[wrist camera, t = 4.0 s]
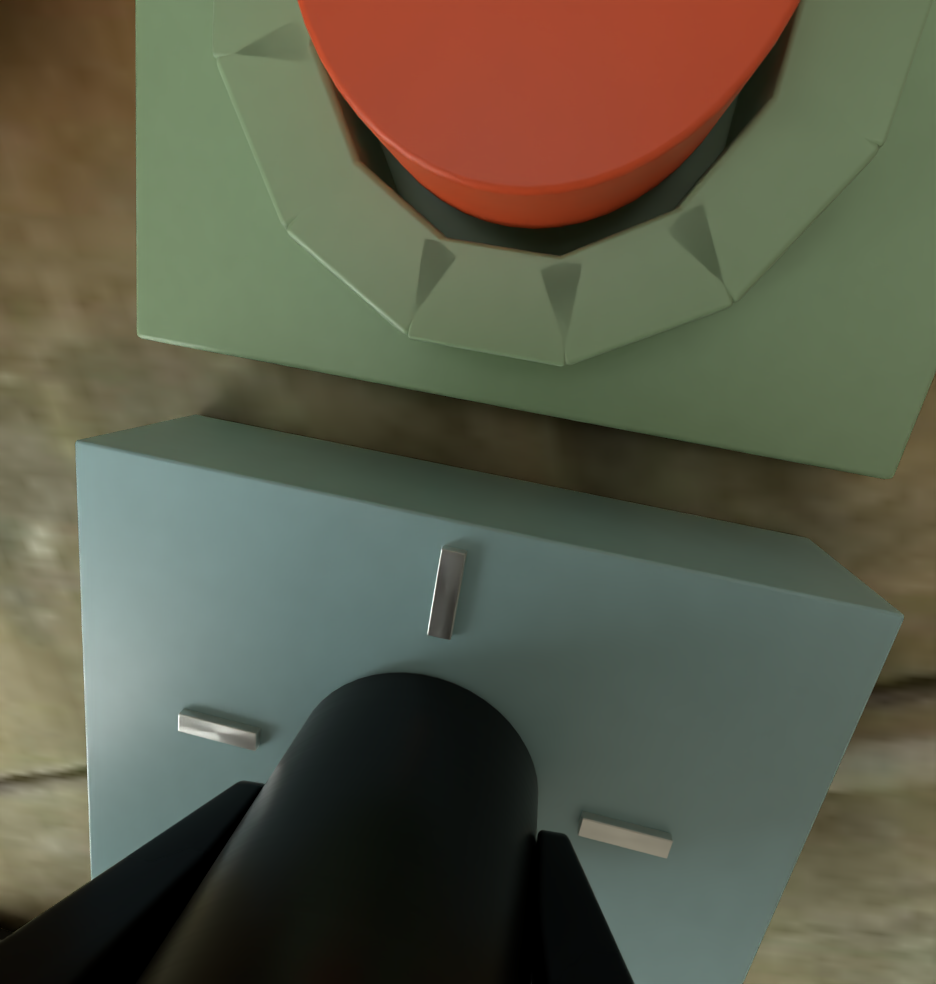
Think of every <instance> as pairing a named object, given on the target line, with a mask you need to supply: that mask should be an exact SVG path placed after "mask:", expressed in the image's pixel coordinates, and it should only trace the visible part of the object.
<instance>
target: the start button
mask: <svg viewBox="0 0 936 984" xmlns="http://www.w3.org/2000/svg"><path fill="white" fill-rule="evenodd" d="M297 1H298V4H299V7H300V11H301V14H302V17H303V20H304V24H305V26H306V28H307V31H308V33H309V35H310V38H311V40H312V42H313V45H314V47H315V49H316V51H317V54H318V56H319V58H320V60H321V62H322V64H323V65H324V67H325V69H326V70H327V72H328V74H329V76H330V77H331V79H332V81H333V82H334V84H335V86H336V88H337V89H338V91H339V92H340V93H341V95H342V96H343V97H344V99H345V100H346V101H347V102H348V104H349V105H350V106H351V108H352V109H353V110H354V112H355V113H356V114H357V116H358V117H359V118H360V119H361V120H362V121H363V122H364V124H365V125H366V126H367V127H368V128H369V129H370V130H371V131H372V132H373V134H374V135H375V136H376V137H377V138H378V139H379V140H380V141H381V142H382V144H383V145H384V146H385V147H386V148H387V149H388V150H389V151H390V152H391V154H392V155H393V156H394V157H395V158H396V159H397V160H398V161H399V162H400V164H401V165H402V166H403V167H404V168H405V169H406V170H407V171H408V172H409V173H410V174H411V175H412V176H413V177H414V178H415V179H416V180H417V181H418V182H419V183H420V184H421V185H422V186H423V187H424V188H426V189H427V190H428V191H430V192H431V193H432V194H434V195H435V196H436V197H437V198H439V199H440V200H441V201H443V202H445V203H447V204H448V205H450V206H452V207H454V208H455V209H457V210H459V211H461V212H463V213H465V214H468V215H470V216H473V217H475V218H478V219H480V220H483V221H486V222H490V223H494V224H499V225H503V226H507V227H517V228H528V229H540V228H557V227H563V226H568V225H573V224H578V223H583V222H586V221H589V220H592V219H595V218H598V217H601V216H604V215H607V214H609V213H611V212H613V211H615V210H617V209H619V208H621V207H623V206H625V205H627V204H629V203H631V202H633V201H635V200H636V199H638V198H639V197H641V196H642V195H644V194H645V193H647V192H648V191H650V190H651V189H653V188H655V187H656V186H657V185H659V184H660V183H661V182H662V181H663V180H664V179H666V178H667V177H668V176H669V175H670V174H672V173H673V172H674V171H675V170H676V169H677V168H679V167H680V166H681V165H682V164H683V162H684V161H685V160H686V159H687V158H688V157H689V156H690V155H691V154H692V153H693V152H694V151H695V150H696V149H697V147H698V146H699V145H700V144H701V143H702V142H703V140H704V139H705V138H706V136H707V135H708V134H709V132H710V131H711V130H712V128H713V127H714V126H715V124H716V123H717V122H718V120H719V119H720V118H721V116H722V115H723V114H724V112H725V111H726V110H727V108H728V107H729V106H730V104H731V103H732V102H733V100H734V99H735V98H736V96H737V95H738V94H739V92H740V91H741V90H742V88H743V87H744V86H745V84H746V83H747V82H748V80H749V79H750V78H751V76H752V75H753V74H754V72H755V71H756V70H757V68H758V67H759V66H760V64H761V63H762V62H763V60H764V59H765V58H766V56H767V55H768V54H769V52H770V51H771V50H772V48H773V47H774V46H775V44H776V42H777V41H778V39H779V37H780V36H781V34H782V32H783V30H784V29H785V27H786V25H787V24H788V22H789V20H790V19H791V17H792V15H793V14H794V12H795V10H796V9H797V7H798V5H799V3H800V1H801V0H297Z"/></svg>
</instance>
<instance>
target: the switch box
mask: <svg viewBox="0 0 936 984" xmlns="http://www.w3.org/2000/svg"><path fill="white" fill-rule="evenodd" d="M136 239H137V334H138V336H139V337H141V338H142V339H146V340H152V341H157V342H162V343H167V344H173V345H178V346H183V347H189V348H194V349H199V350H204V351H210V352H215V353H220V354H226V355H231V356H236V357H241V358H247V359H252V360H257V361H263V362H268V363H273V364H278V365H284V366H289V367H294V368H300V369H305V370H310V371H315V372H321V373H326V374H331V375H337V376H342V377H347V378H352V379H358V380H363V381H368V382H373V383H379V384H384V385H389V386H395V387H400V388H405V389H410V390H416V391H421V392H426V393H432V394H437V395H442V396H447V397H453V398H458V399H463V400H469V401H474V402H479V403H484V404H490V405H495V406H500V407H506V408H511V409H516V410H521V411H527V412H532V413H537V414H543V415H548V416H553V417H558V418H564V419H569V420H574V421H580V422H585V423H590V424H595V425H601V426H606V427H611V428H616V429H622V430H627V431H632V432H638V433H643V434H648V435H653V436H659V437H664V438H669V439H675V440H680V441H685V442H690V443H696V444H701V445H706V446H712V447H717V448H722V449H727V450H733V451H738V452H743V453H749V454H754V455H759V456H764V457H770V458H775V459H780V460H786V461H791V462H796V463H801V464H807V465H812V466H817V467H823V468H828V469H833V470H838V471H844V472H849V473H854V474H859V475H865V476H870V477H875V478H881V479H890V478H892V477H893V476H894V474H895V472H896V469H897V467H898V464H899V462H900V459H901V457H902V454H903V452H904V449H905V447H906V444H907V442H908V439H909V437H910V435H911V432H912V430H913V427H914V425H915V422H916V420H917V417H918V415H919V412H920V410H921V407H922V405H923V402H924V400H925V397H926V395H927V392H928V390H929V387H930V385H931V382H932V380H933V377H934V375H935V372H936V0H801V1H800V3H799V5H798V7H797V9H796V10H795V12H794V14H793V15H792V17H791V19H790V20H789V22H788V24H787V25H786V27H785V29H784V30H783V32H782V34H781V36H780V37H779V39H778V41H777V42H776V44H775V46H774V47H773V48H772V50H771V51H770V52H769V54H768V55H767V56H766V58H765V59H764V60H763V62H762V63H761V64H760V66H759V67H758V68H757V70H756V71H755V72H754V74H753V75H752V76H751V78H750V79H749V80H748V82H747V83H746V84H745V86H744V87H743V88H742V90H741V91H740V92H739V94H738V95H737V96H736V98H735V99H734V100H733V102H732V103H731V104H730V106H729V107H728V108H727V110H726V111H725V112H724V114H723V115H722V116H721V118H720V119H719V120H718V122H717V123H716V124H715V126H714V127H713V128H712V130H711V131H710V132H709V134H708V135H707V136H706V138H705V139H704V140H703V142H702V143H701V144H700V145H699V146H698V147H697V149H696V150H695V151H694V152H693V153H692V154H691V155H690V156H689V157H688V158H687V159H686V160H685V161H684V162H683V164H682V165H681V166H680V167H679V168H677V169H676V170H675V171H674V172H673V173H672V174H670V175H669V176H668V177H667V178H666V179H664V180H663V181H662V182H661V183H660V184H659V185H657V186H656V187H655V188H653V189H651V190H650V191H648V192H647V193H645V194H644V195H642V196H641V197H639V198H638V199H636V200H635V201H633V202H631V203H629V204H627V205H625V206H623V207H621V208H619V209H617V210H615V211H613V212H611V213H609V214H607V215H604V216H601V217H598V218H595V219H592V220H589V221H586V222H583V223H578V224H573V225H568V226H563V227H557V228H540V229H528V228H517V227H507V226H503V225H499V224H494V223H490V222H486V221H483V220H480V219H478V218H475V217H473V216H470V215H468V214H465V213H463V212H461V211H459V210H457V209H455V208H454V207H452V206H450V205H448V204H447V203H445V202H443V201H441V200H440V199H439V198H437V197H436V196H435V195H434V194H432V193H431V192H430V191H428V190H427V189H426V188H424V187H423V186H422V185H421V184H420V183H419V182H418V181H417V180H416V179H415V178H414V177H413V176H412V175H411V174H410V173H409V172H408V171H407V170H406V169H405V168H404V167H403V166H402V165H401V164H400V162H399V161H398V160H397V159H396V158H395V157H394V156H393V155H392V154H391V152H390V151H389V150H388V149H387V148H386V147H385V146H384V145H383V144H382V142H381V141H380V140H379V139H378V138H377V137H376V136H375V135H374V134H373V132H372V131H371V130H370V129H369V128H368V127H367V126H366V125H365V124H364V122H363V121H362V120H361V119H360V118H359V117H358V116H357V114H356V113H355V112H354V110H353V109H352V108H351V106H350V105H349V104H348V102H347V101H346V100H345V99H344V97H343V96H342V95H341V93H340V92H339V91H338V89H337V88H336V86H335V84H334V82H333V81H332V79H331V77H330V76H329V74H328V72H327V70H326V69H325V67H324V65H323V64H322V62H321V60H320V58H319V56H318V54H317V51H316V49H315V47H314V45H313V42H312V40H311V38H310V35H309V33H308V31H307V28H306V26H305V24H304V20H303V17H302V14H301V11H300V7H299V4H298V1H297V0H136Z"/></svg>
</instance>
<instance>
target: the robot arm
mask: <svg viewBox="0 0 936 984" xmlns="http://www.w3.org/2000/svg"><path fill="white" fill-rule="evenodd" d="M264 785H265V784H263V783H258V782H251V781H245V780H243V781H239V782H237V783H235V784H234V785H232V786H231V787H229V788H228V789H226V790H225V791H223V792H222V793H220V794H219V795H217V796H216V797H214V798H213V799H211V800H210V801H208V802H207V803H205V804H204V805H202V806H201V807H199V808H198V809H196V810H195V811H193V812H192V813H191V814H189V815H188V816H186V817H185V818H183V819H182V820H180V821H179V822H177V823H176V824H174V825H173V826H171V827H170V828H168V829H167V830H165V831H164V832H162V833H161V834H159V835H158V836H156V837H155V838H153V839H152V840H150V841H149V842H147V843H146V844H144V845H143V846H141V847H140V848H138V849H137V850H135V851H134V852H133V853H131V854H130V855H128V856H127V857H125V858H124V859H122V860H121V861H119V862H118V863H116V864H115V865H113V866H112V867H110V868H109V869H107V870H106V871H104V872H103V873H101V874H100V875H98V876H97V877H95V878H94V879H92V880H91V881H89V882H88V883H86V884H85V885H83V886H82V887H80V888H79V889H77V890H76V891H74V892H73V893H72V894H70V895H69V896H67V897H66V898H64V899H63V900H61V901H60V902H58V903H57V904H55V905H54V906H52V907H51V908H49V909H48V910H46V911H45V912H43V913H42V914H40V915H39V916H37V917H36V918H34V919H33V920H31V921H30V922H28V923H27V924H25V925H24V926H22V927H21V928H19V929H18V930H16V931H15V932H11V931H8V930H4V929H1V928H0V984H136V982H137V981H138V979H139V978H140V976H141V975H142V973H143V971H144V970H145V968H146V967H147V965H148V964H149V962H150V961H151V959H152V958H153V956H154V955H155V953H156V951H157V950H158V948H159V947H160V945H161V944H162V942H163V941H164V939H165V938H166V936H167V935H168V933H169V931H170V930H171V928H172V927H173V925H174V924H175V922H176V921H177V919H178V918H179V916H180V915H181V913H182V911H183V910H184V908H185V907H186V905H187V904H188V902H189V901H190V899H191V898H192V896H193V894H194V893H195V891H196V890H197V888H198V887H199V885H200V884H201V882H202V881H203V879H204V878H205V876H206V874H207V873H208V871H209V870H210V868H211V867H212V865H213V864H214V862H215V861H216V859H217V858H218V856H219V854H220V853H221V851H222V850H223V848H224V847H225V845H226V844H227V842H228V841H229V839H230V837H231V836H232V834H233V833H234V831H235V830H236V828H237V827H238V825H239V824H240V822H241V821H242V819H243V817H244V816H245V814H246V813H247V811H248V810H249V808H250V807H251V805H252V804H253V802H254V801H255V799H256V797H257V796H258V794H259V793H260V791H261V790H262V788H263V787H264ZM531 984H635V983H634V981H633V979H632V977H631V975H630V972H629V970H628V968H627V966H626V963H625V961H624V959H623V957H622V955H621V952H620V950H619V948H618V946H617V943H616V941H615V939H614V937H613V935H612V932H611V930H610V928H609V926H608V923H607V921H606V919H605V917H604V915H603V912H602V910H601V908H600V906H599V903H598V901H597V899H596V897H595V895H594V892H593V890H592V888H591V886H590V883H589V881H588V879H587V877H586V875H585V872H584V870H583V868H582V866H581V863H580V861H579V859H578V857H577V855H576V852H575V850H574V848H573V846H572V843H571V841H570V839H569V838H568V836H567V835H566V834H564V833H559V832H553V831H547V830H541V831H539V832H538V835H537V842H536V863H535V889H534V914H533V946H532V972H531Z"/></svg>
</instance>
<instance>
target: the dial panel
mask: <svg viewBox="0 0 936 984" xmlns="http://www.w3.org/2000/svg"><path fill="white" fill-rule="evenodd" d="M75 447H76V475H77V502H78V530H79V557H80V585H81V612H82V640H83V667H84V695H85V722H86V750H87V777H88V805H89V832H90V860H91V880H92V879H94V878H95V877H97V876H98V875H100V874H101V873H103V872H104V871H106V870H107V869H109V868H110V867H112V866H113V865H115V864H116V863H118V862H119V861H121V860H122V859H124V858H125V857H127V856H128V855H130V854H131V853H133V852H134V851H135V850H137V849H138V848H140V847H141V846H143V845H144V844H146V843H147V842H149V841H150V840H152V839H153V838H155V837H156V836H158V835H159V834H161V833H162V832H164V831H165V830H167V829H168V828H170V827H171V826H173V825H174V824H176V823H177V822H179V821H180V820H182V819H183V818H185V817H186V816H188V815H189V814H191V813H192V812H193V811H195V810H196V809H198V808H199V807H201V806H202V805H204V804H205V803H207V802H208V801H210V800H211V799H213V798H214V797H216V796H217V795H219V794H220V793H222V792H223V791H225V790H226V789H228V788H229V787H231V786H232V785H234V784H235V783H237V782H239V781H243V780H245V781H251V782H258V783H263V784H266V782H267V780H268V779H269V777H270V776H271V774H272V773H273V771H274V770H275V768H276V767H277V765H278V764H279V762H280V760H281V759H282V757H283V756H284V754H285V753H286V751H287V750H288V748H289V747H290V745H291V744H292V742H293V740H294V739H295V737H296V736H297V734H298V733H299V731H300V730H301V728H302V727H303V725H304V724H305V722H306V720H307V719H308V717H309V716H310V714H311V713H312V711H313V710H314V709H315V708H316V707H317V706H318V704H319V703H320V702H321V701H322V700H323V699H325V698H326V697H327V696H328V695H329V694H331V693H332V692H333V691H335V690H337V689H338V688H340V687H342V686H343V685H345V684H348V683H350V682H352V681H355V680H357V679H360V678H363V677H367V676H371V675H375V674H382V673H394V672H407V673H416V674H424V675H428V676H433V677H437V678H441V679H443V680H446V681H449V682H452V683H455V684H457V685H459V686H461V687H463V688H465V689H468V690H470V691H471V692H473V693H475V694H476V695H478V696H479V697H481V698H483V699H484V700H486V701H487V702H488V703H489V704H491V705H492V706H493V707H494V708H496V709H497V710H498V711H499V712H500V713H501V714H502V715H503V716H504V717H505V718H506V719H507V720H508V721H509V722H510V723H511V725H512V726H513V727H514V729H515V730H516V731H517V733H518V734H519V735H520V737H521V739H522V740H523V742H524V744H525V746H526V747H527V749H528V751H529V754H530V756H531V759H532V761H533V763H534V767H535V771H536V775H537V782H538V816H537V835H538V832H539V831H541V830H547V831H553V832H559V833H564V834H566V835H567V836H568V838H569V839H570V841H571V843H572V846H573V848H574V850H575V852H576V855H577V857H578V859H579V861H580V863H581V866H582V868H583V870H584V872H585V875H586V877H587V879H588V881H589V883H590V886H591V888H592V890H593V892H594V895H595V897H596V899H597V901H598V903H599V906H600V908H601V910H602V912H603V915H604V917H605V919H606V921H607V923H608V926H609V928H610V930H611V932H612V935H613V937H614V939H615V941H616V943H617V946H618V948H619V950H620V952H621V955H622V957H623V959H624V961H625V963H626V966H627V968H628V970H629V972H630V975H631V977H632V979H633V981H634V983H635V984H743V982H744V980H745V978H746V975H747V973H748V971H749V969H750V966H751V964H752V962H753V960H754V957H755V955H756V953H757V950H758V948H759V946H760V944H761V941H762V939H763V937H764V935H765V932H766V930H767V928H768V926H769V923H770V921H771V919H772V916H773V914H774V912H775V910H776V907H777V905H778V903H779V901H780V898H781V896H782V894H783V892H784V889H785V887H786V885H787V883H788V880H789V878H790V876H791V873H792V871H793V869H794V867H795V864H796V862H797V860H798V858H799V855H800V853H801V851H802V849H803V846H804V844H805V842H806V839H807V837H808V835H809V833H810V830H811V828H812V826H813V824H814V821H815V819H816V817H817V815H818V812H819V810H820V808H821V806H822V803H823V801H824V799H825V796H826V794H827V792H828V790H829V787H830V785H831V783H832V781H833V778H834V776H835V774H836V772H837V769H838V767H839V765H840V762H841V760H842V758H843V756H844V753H845V751H846V749H847V747H848V744H849V742H850V740H851V738H852V735H853V733H854V731H855V729H856V726H857V724H858V722H859V719H860V717H861V715H862V713H863V710H864V708H865V706H866V704H867V701H868V699H869V697H870V695H871V692H872V690H873V688H874V685H875V683H876V681H877V679H878V676H879V674H880V672H881V670H882V667H883V665H884V663H885V661H886V658H887V656H888V654H889V652H890V649H891V647H892V645H893V642H894V640H895V638H896V636H897V633H898V631H899V629H900V627H901V624H902V622H903V620H904V615H903V614H902V613H901V612H900V611H898V610H897V609H896V608H895V607H893V606H892V605H891V604H890V603H888V602H887V601H886V600H885V599H883V598H882V597H881V596H880V595H878V594H877V593H876V592H875V591H873V590H872V589H871V588H870V587H868V586H867V585H866V584H865V583H863V582H862V581H861V580H860V579H858V578H857V577H856V576H855V575H853V574H852V573H851V572H850V571H848V570H847V569H846V568H845V567H843V566H842V565H841V564H840V563H838V562H837V561H836V560H835V559H833V558H832V557H831V556H830V555H828V554H827V553H826V552H825V551H823V550H822V549H821V548H820V547H818V546H817V545H816V544H815V543H813V542H812V541H811V540H810V539H808V538H806V537H801V536H796V535H791V534H786V533H781V532H776V531H771V530H766V529H761V528H756V527H751V526H746V525H741V524H736V523H731V522H726V521H721V520H716V519H711V518H706V517H702V516H697V515H692V514H687V513H682V512H677V511H672V510H667V509H662V508H657V507H652V506H647V505H642V504H637V503H632V502H627V501H622V500H617V499H612V498H607V497H602V496H597V495H592V494H587V493H582V492H577V491H573V490H568V489H563V488H558V487H553V486H548V485H543V484H538V483H533V482H528V481H523V480H518V479H513V478H508V477H503V476H498V475H493V474H488V473H483V472H478V471H473V470H468V469H463V468H458V467H453V466H448V465H443V464H439V463H434V462H429V461H424V460H419V459H414V458H409V457H404V456H399V455H394V454H389V453H384V452H379V451H374V450H369V449H364V448H359V447H354V446H349V445H344V444H339V443H334V442H329V441H324V440H319V439H314V438H310V437H305V436H300V435H295V434H290V433H285V432H280V431H275V430H270V429H265V428H260V427H255V426H250V425H245V424H240V423H235V422H230V421H225V420H220V419H215V418H210V417H205V416H200V415H191V416H187V417H182V418H178V419H173V420H168V421H164V422H159V423H155V424H150V425H145V426H141V427H136V428H132V429H127V430H122V431H118V432H113V433H109V434H104V435H99V436H95V437H90V438H86V439H81V440H77V441H76V443H75Z"/></svg>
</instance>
